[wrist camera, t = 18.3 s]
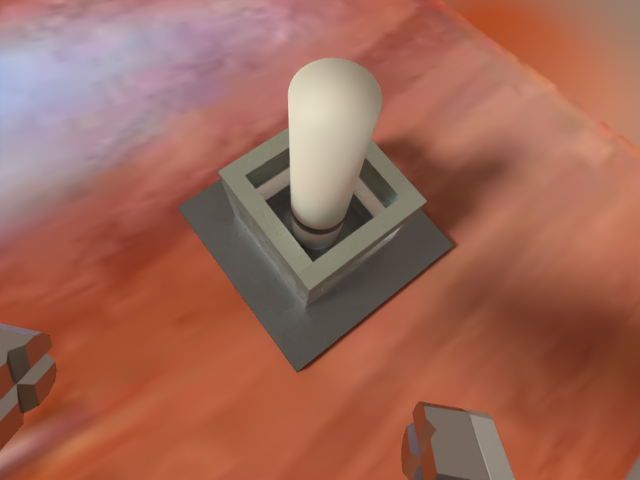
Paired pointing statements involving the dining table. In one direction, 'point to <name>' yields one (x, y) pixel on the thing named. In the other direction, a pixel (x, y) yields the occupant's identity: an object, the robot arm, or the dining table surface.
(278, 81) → the dining table surface
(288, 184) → the collar holder
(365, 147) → the cream tall rounded cylinder
